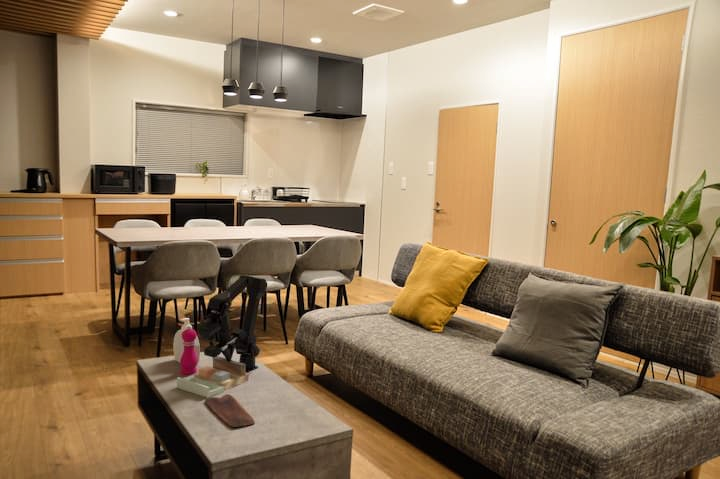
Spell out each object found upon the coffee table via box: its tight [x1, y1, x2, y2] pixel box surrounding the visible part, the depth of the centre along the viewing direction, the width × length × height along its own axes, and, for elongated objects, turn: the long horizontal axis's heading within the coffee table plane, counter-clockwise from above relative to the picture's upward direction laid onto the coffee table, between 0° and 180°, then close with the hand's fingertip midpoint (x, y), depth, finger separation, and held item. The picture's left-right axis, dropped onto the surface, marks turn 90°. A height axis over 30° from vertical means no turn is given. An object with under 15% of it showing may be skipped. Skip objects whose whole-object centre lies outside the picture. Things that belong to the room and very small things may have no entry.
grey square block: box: [213, 370, 230, 382], centre depth 214 cm, size 4×4×2 cm
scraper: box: [212, 355, 247, 377], centre depth 223 cm, size 2×16×5 cm, turn 58°
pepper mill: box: [179, 325, 199, 376], centre depth 228 cm, size 7×7×20 cm
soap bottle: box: [172, 317, 201, 366], centre depth 239 cm, size 16×5×20 cm, turn 43°
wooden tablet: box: [204, 394, 256, 428], centre depth 192 cm, size 26×2×10 cm
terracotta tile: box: [198, 365, 215, 378], centre depth 218 cm, size 4×4×2 cm
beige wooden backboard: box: [193, 369, 249, 392], centre depth 220 cm, size 14×16×3 cm
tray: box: [176, 376, 225, 399], centre depth 211 cm, size 8×17×4 cm, turn 58°
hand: (229, 361), depth 223 cm, fingers closed, pressing on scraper
